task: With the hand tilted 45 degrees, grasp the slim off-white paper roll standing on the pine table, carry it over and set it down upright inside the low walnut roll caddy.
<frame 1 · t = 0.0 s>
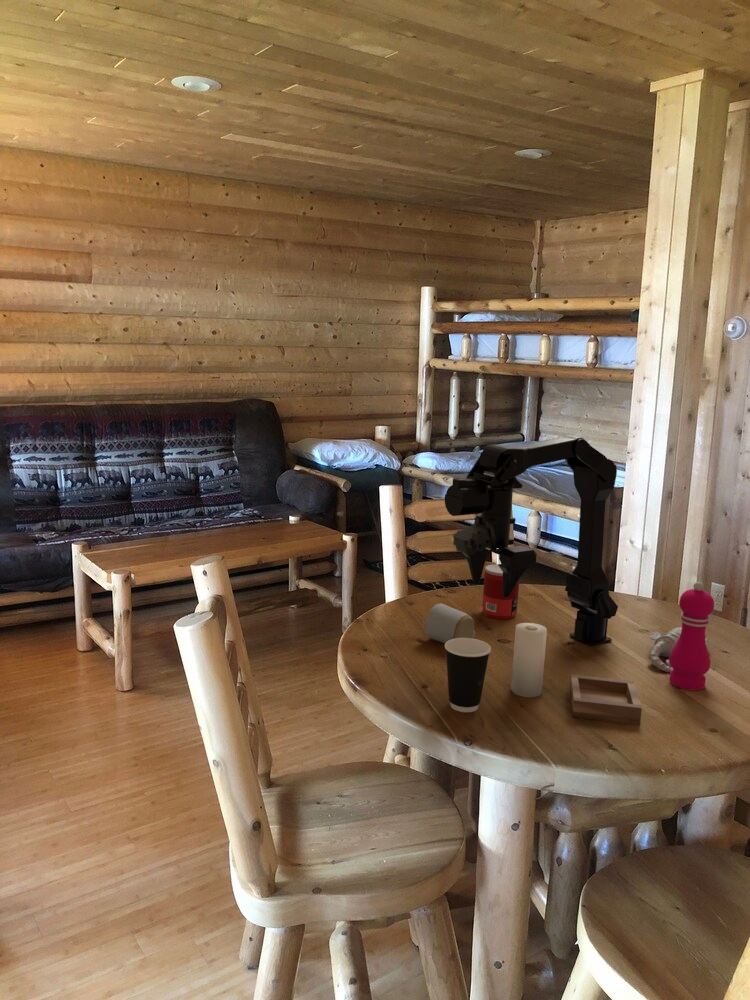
hand: (490, 590, 155), 15 cm above the table, tool pointing down, fingers open, 9 cm apart
ceramic mug: (451, 641, 168), on the table
pepper mill: (686, 684, 151), on the table
canned food: (499, 615, 185), on the table
paper roll: (526, 690, 145), on the table
caddy: (603, 706, 140), on the table
seahorse: (676, 659, 163), on the table
dixie cup: (464, 707, 138), on the table
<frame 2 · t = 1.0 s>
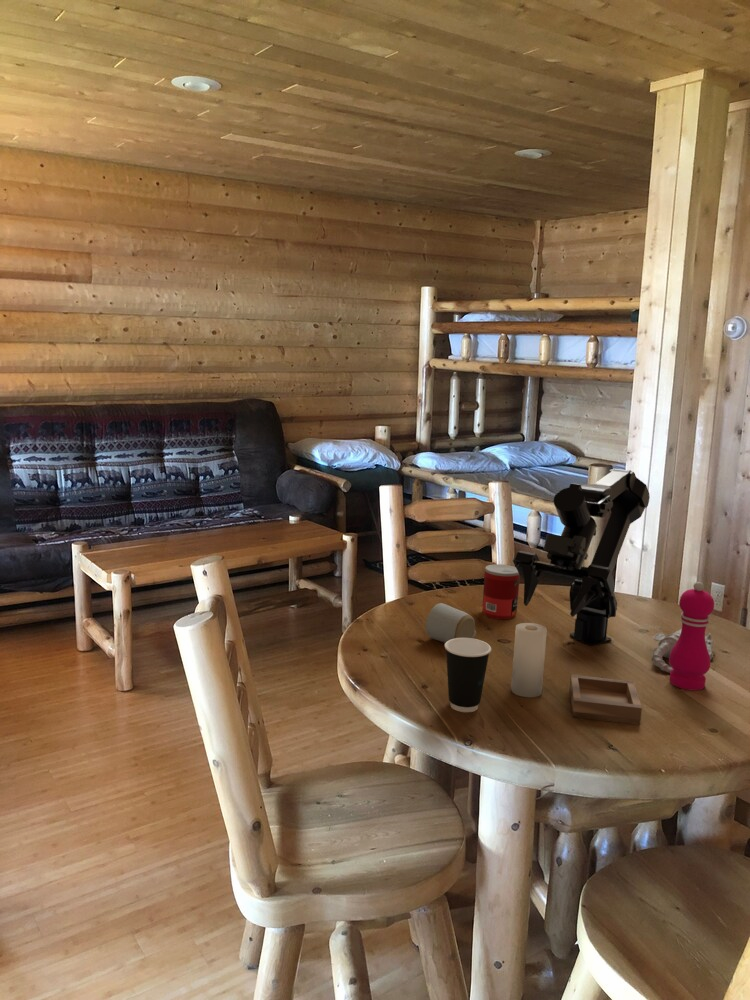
hand: (548, 610, 148), 13 cm above the table, tool tilted 45°, fingers open, 9 cm apart
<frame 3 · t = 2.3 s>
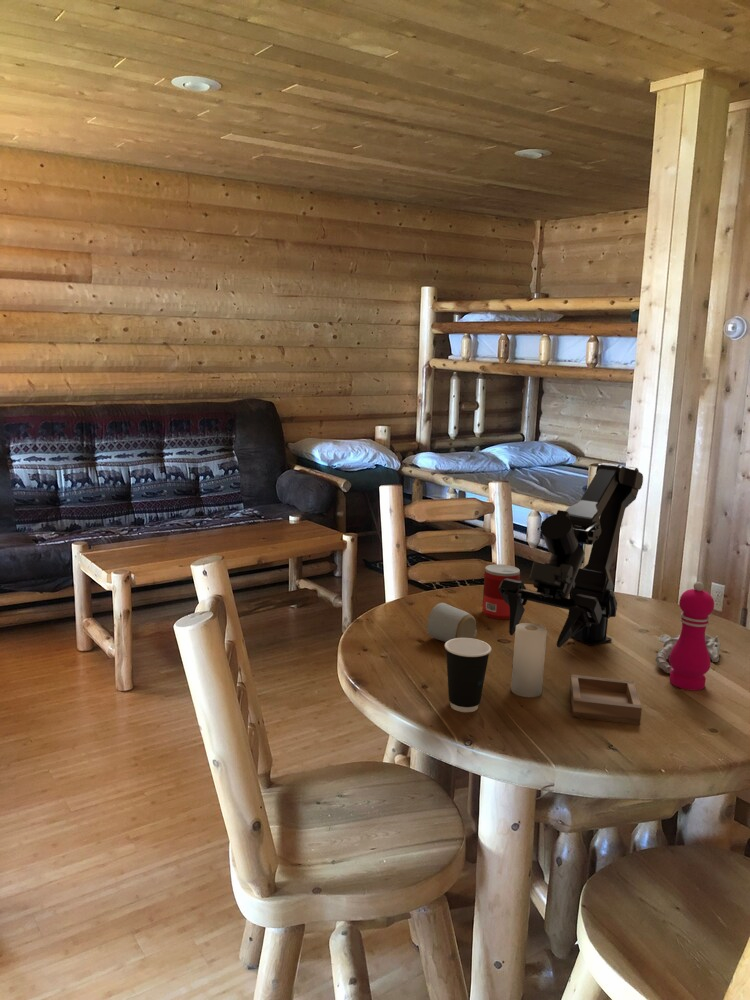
hand: (533, 640, 144), 9 cm above the table, tool tilted 45°, fingers open, 9 cm apart
seahorse: (686, 662, 162), on the table
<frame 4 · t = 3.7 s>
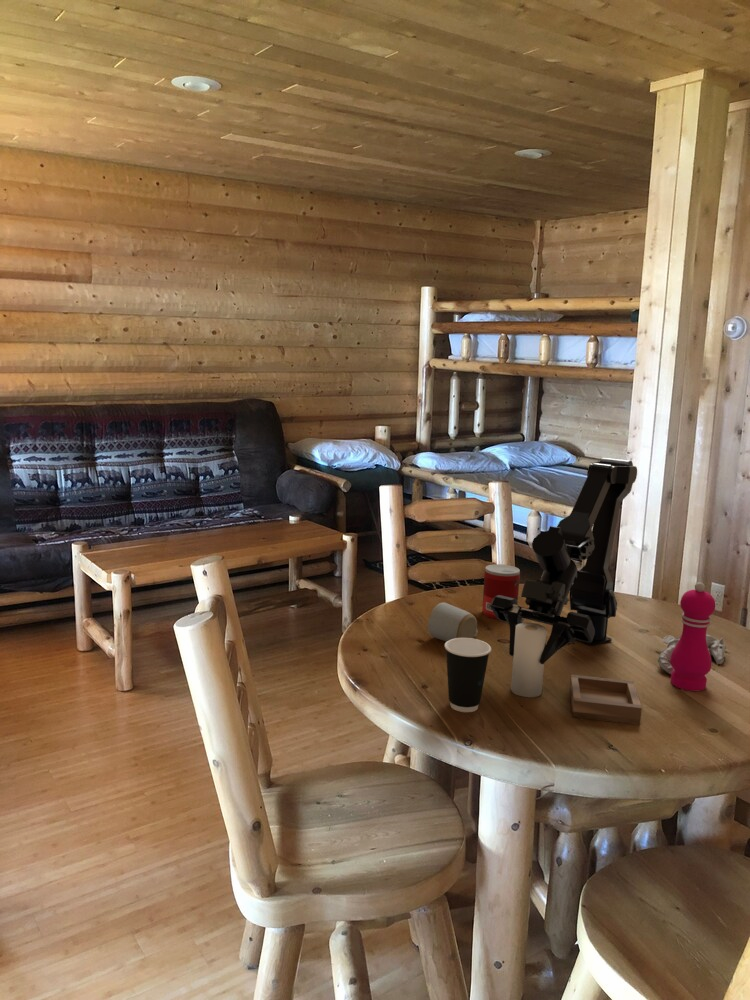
hand: (525, 658, 142), 7 cm above the table, tool tilted 45°, fingers closed on paper roll, 5 cm apart
pepper mill: (687, 685, 150), on the table, touching seahorse
paper roll: (526, 690, 145), on the table, touching gripper
seahorse: (689, 664, 161), on the table, touching pepper mill
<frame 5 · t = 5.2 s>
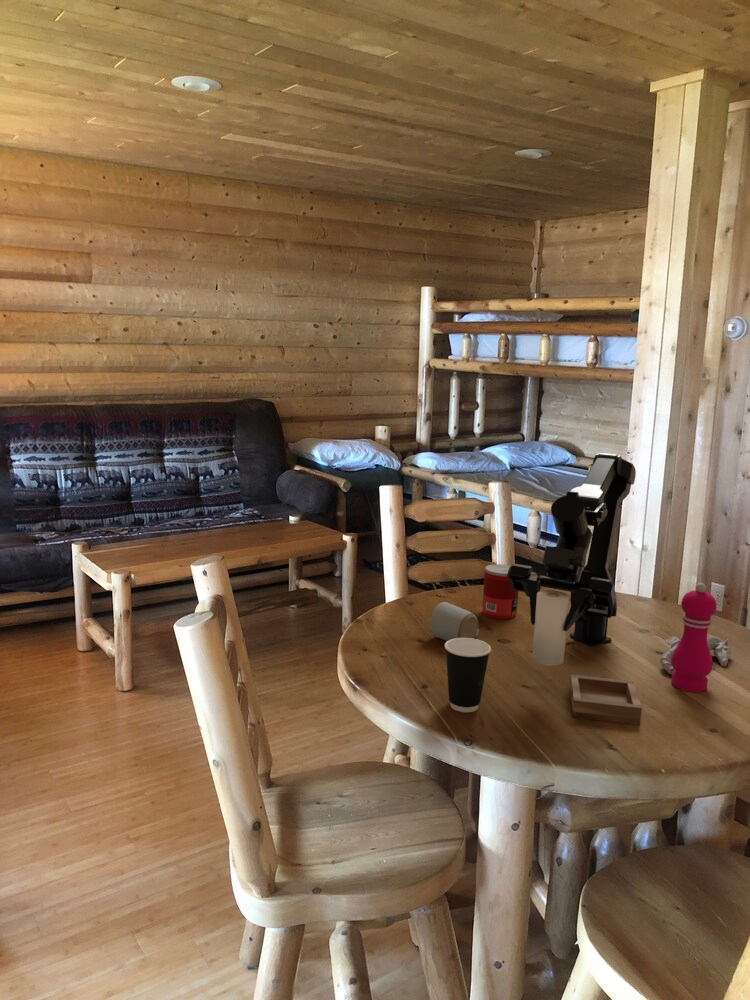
hand: (548, 626, 139), 13 cm above the table, tool tilted 45°, fingers closed on paper roll, 5 cm apart
pepper mill: (688, 686, 150), on the table
paper roll: (547, 659, 142), point 7 cm above the table, touching gripper
seahorse: (693, 665, 160), on the table
when the fingers open (9 cm above the table, at t = 7.0 s): paper roll drops 1 cm, resting on caddy.
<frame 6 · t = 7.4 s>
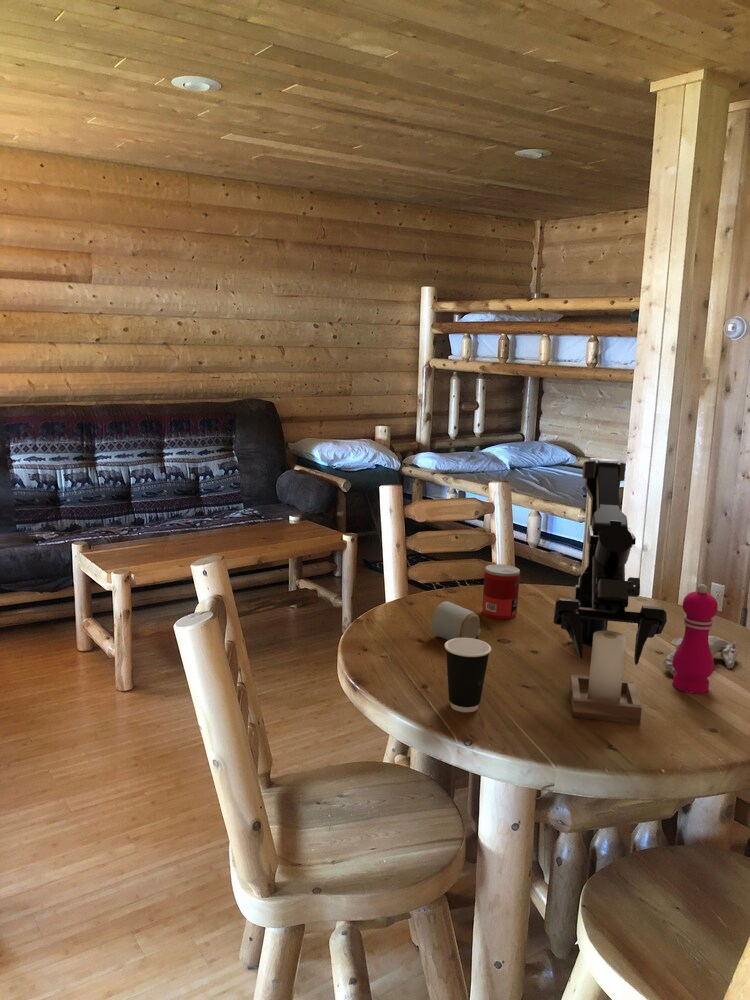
hand: (608, 660, 137), 9 cm above the table, tool tilted 45°, fingers open, 9 cm apart
paper roll: (603, 701, 139), point 1 cm above the table, touching caddy
seahorse: (699, 667, 160), on the table
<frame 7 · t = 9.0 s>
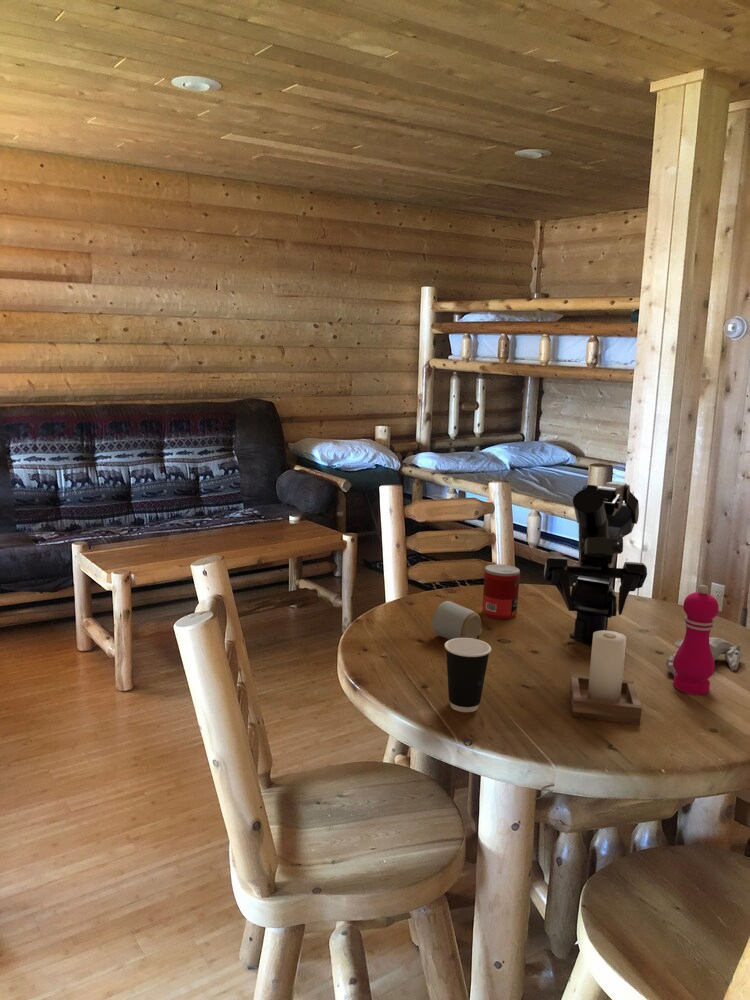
hand: (595, 612, 150), 13 cm above the table, tool tilted 45°, fingers open, 9 cm apart
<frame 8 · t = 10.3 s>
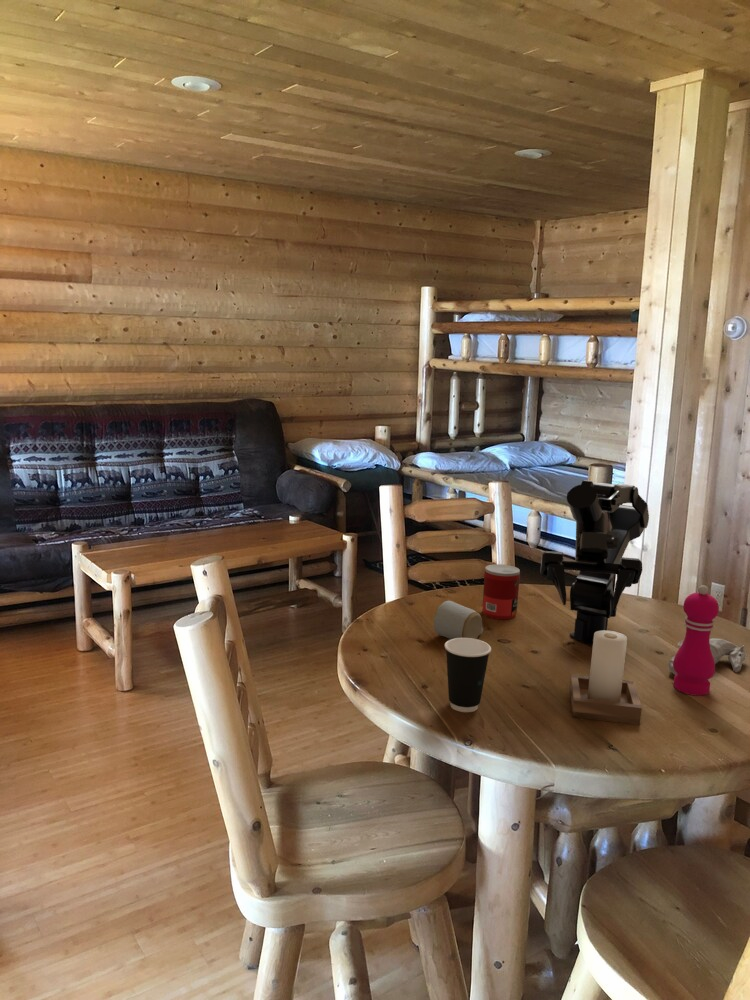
hand: (589, 606, 151), 14 cm above the table, tool tilted 45°, fingers open, 9 cm apart
at the end: paper roll inside the target area on the caddy (0.0 cm from its centre), point 1.0 cm above the caddy's base; paper roll tilted 1°; the gripper is holding nothing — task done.
